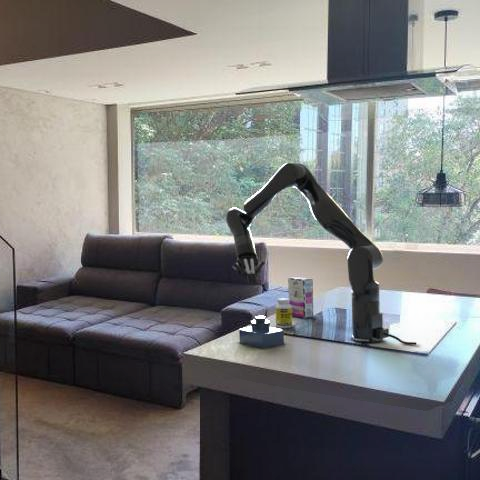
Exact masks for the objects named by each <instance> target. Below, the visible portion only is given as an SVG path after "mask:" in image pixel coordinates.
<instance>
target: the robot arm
mask: <svg viewBox="0 0 480 480" xmlns="http://www.w3.org/2000/svg"><path fill="white" fill-rule="evenodd" d="M287 188H296V189H297V190H298V191H299V192H300V193H301V194H302V195H303V196H304V197H305V199H306V200H307V202H308V204H309V208H310V212H311V213H312V216H313V217H314V219H315V220H316V221H317V222H318V223H319V225H320V226H321V227H322V229H324V230H325V231H326V232H328V233H329V234H330V235H332V237H335V238H337V239H338V240H340V241H341V242H342V243H344V244H345V245H346V246H347V247H348V249H350V250H349V252H348V254H347V273H348V282H349V285H350V287H351V323H352V324H351V325H352V327H351V328H352V329H351V330H352V335H351V337H352V338H351V339H352V340H353V341H355V342H358V343H359V342H360V343H370V344H373V343H376V342H381V341H384V339H386V338H391V339H394V340H397V341H398V342H399V343H401V344H404V345H410V346H411V345H413V346H416V345H417V342H415V341H405V340H402V339H400V337H397V336H395V335H393V334H390V333H389V332H390V331H389V330H390V329H389V328H388V327H384V324H383V323H384V321H383V316H384V315H383V313H382V312H381V305H380V304H381V303H380V284H379V282H378V281H376V280H375V279H374V271H375V270H378V269H379V268H380V267H382V265H383V263H384V255H383V253H382V251H381V249H380V248H379V247H378V246H377V245H376V244H375V243H374V242H372V240H371V239H370V238H369V237H367V236H366V235H365V234H364V233H363V232H362V230H361V229H359V228H358V227H357V225H356V224H355V223H354V222H353V220H351V218H350V217H349V216H348V215H347V214H346V213H345V211H344V210H343V209H342V208H341V207H340V205H338V204H337V202H336V201H335V200H334V199H333V197H331V196H330V195H329V193H328V192H327V191H326V190H325V189H324V188H323V187H322V186H321V185H320V183H319V182H318V180H317V179H316V178H315V176H314V175H313V173H312V172H311V171H310V169H309V168H308V167H307V166H306V165H305V164H303V163H300V162H299V163H298V162H287V163H285V164H283V165H282V166H281V167H279V168H278V170H277V171H276V172H275V174H274V175H273V176H272V177H271V178H270V179H269V181H267V183H266V184H265V185H264V186H262V188H260V189H259V191H257V192H256V193H255V194H254V195H252V196H251V197H250V198H248V199H247V200H246V201H245V202H244V203H243V206H242V207H243V210H244V211H243V210H241V209H239V208H237V207H232V208H230V209H229V210H228V211H227V213H226V215H225V220H226V221H225V222H226V224H227V227H229V230H230V232H231V233H232V235H233V241H234V250H235V255H236V262H234V263H232V270H233V271H234V272H236V273H237V274H239V275H240V276H241V277H246V280H247V284H249V286H254V285H255V284H256V281H257V279H256V277H258V276H259V275H260V273H261V272H262V271H263V269H264V268H265V265H266V263H265V262H264V261H260V260H259V258H258V256H257V253H256V248H255V243H254V241H253V237H252V233H251V230H250V226H251V225H252V223H253V222H254V220H255V219H256V217H257V216H258V215H259V214H261V213H262V212H263V211H264V210H266V209H267V208H268V207H269V206H270V205H271V203H272V201H273V200H274V198H275V197H276V196H277V195H278V194H279V193H281V192H282V191H284V190H285V189H287ZM255 269H256V270H255Z"/></svg>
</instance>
